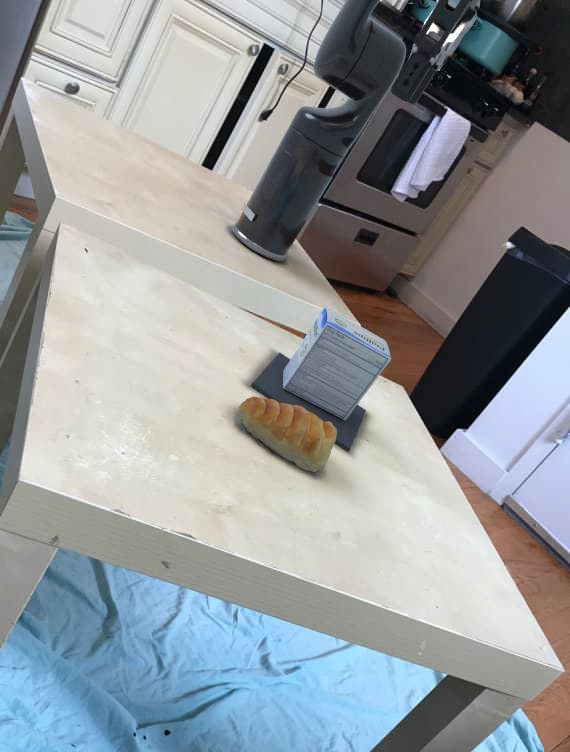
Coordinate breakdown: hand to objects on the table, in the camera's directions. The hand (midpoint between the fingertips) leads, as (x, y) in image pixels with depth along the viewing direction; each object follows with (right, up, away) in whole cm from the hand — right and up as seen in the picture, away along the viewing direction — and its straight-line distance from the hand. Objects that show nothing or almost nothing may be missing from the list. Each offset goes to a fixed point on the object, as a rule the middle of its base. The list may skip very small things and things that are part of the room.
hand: (402, 99), depth 79 cm
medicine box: (-9, -31, +2) cm, 33 cm away
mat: (-9, -32, +2) cm, 33 cm away
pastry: (-14, -37, -9) cm, 40 cm away
